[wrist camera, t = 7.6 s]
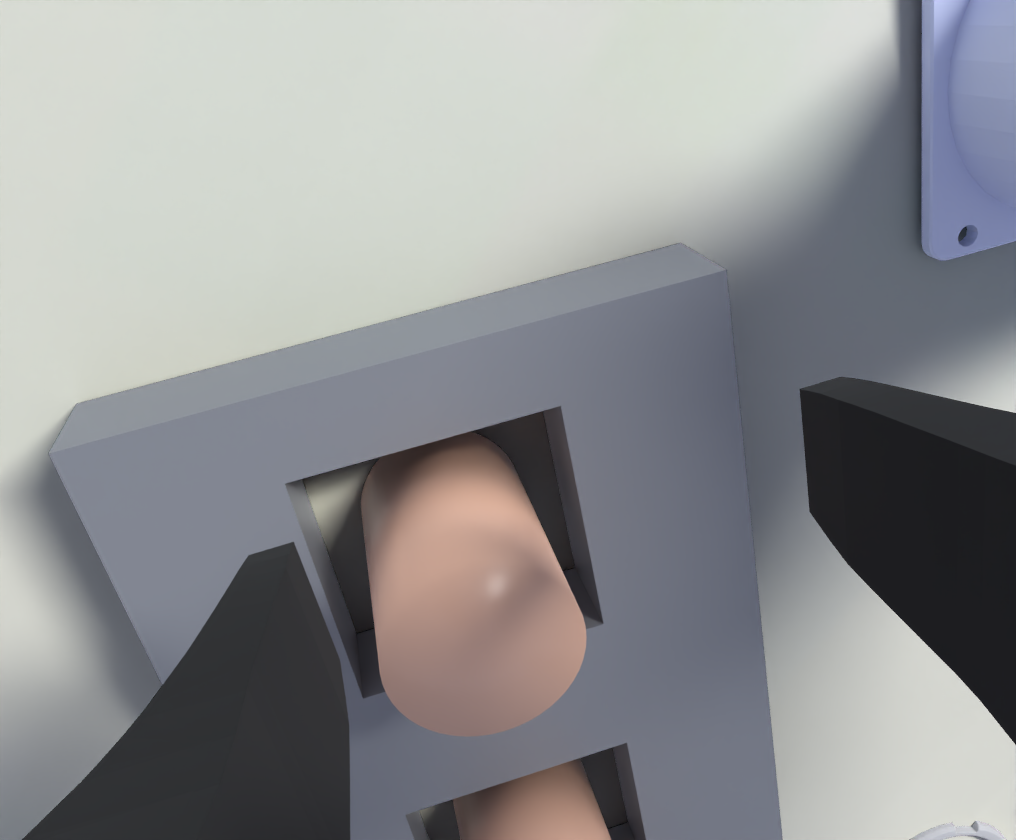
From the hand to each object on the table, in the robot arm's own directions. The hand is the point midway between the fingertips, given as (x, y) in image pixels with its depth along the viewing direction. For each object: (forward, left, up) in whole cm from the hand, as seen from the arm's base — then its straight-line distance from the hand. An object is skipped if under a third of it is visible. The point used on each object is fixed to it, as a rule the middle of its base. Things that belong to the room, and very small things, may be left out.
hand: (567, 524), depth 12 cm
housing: (+2, +10, -9) cm, 13 cm away
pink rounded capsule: (+1, +5, -9) cm, 11 cm away
